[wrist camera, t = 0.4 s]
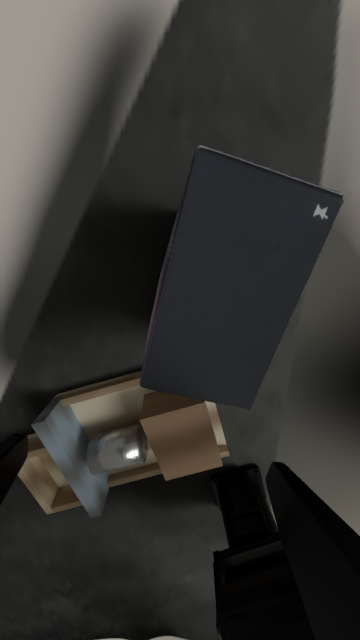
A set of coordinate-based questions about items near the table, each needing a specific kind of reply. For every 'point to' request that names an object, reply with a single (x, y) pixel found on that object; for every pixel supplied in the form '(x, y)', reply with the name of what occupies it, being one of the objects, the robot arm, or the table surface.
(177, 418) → the slab
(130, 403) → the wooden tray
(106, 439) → the roller
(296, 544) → the robot arm
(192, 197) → the small box
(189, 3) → the table surface
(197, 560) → the table surface
